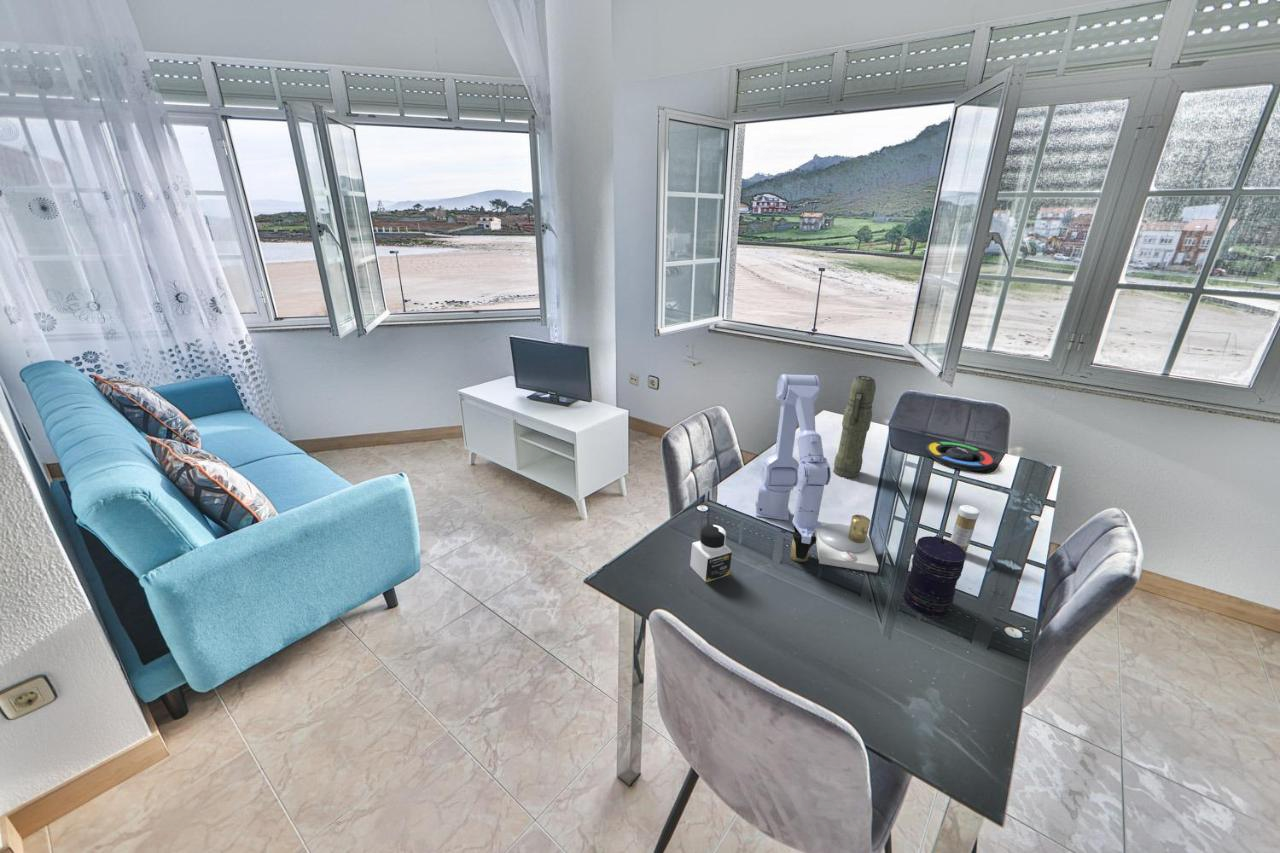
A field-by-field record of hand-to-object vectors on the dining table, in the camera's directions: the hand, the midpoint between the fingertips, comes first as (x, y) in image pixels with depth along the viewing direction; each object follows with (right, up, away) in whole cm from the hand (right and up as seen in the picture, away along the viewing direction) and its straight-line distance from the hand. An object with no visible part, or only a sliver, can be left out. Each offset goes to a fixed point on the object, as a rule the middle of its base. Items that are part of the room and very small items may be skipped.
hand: (799, 552), depth 135 cm
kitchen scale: (+13, 0, +6) cm, 15 cm away
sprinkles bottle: (+44, -2, +6) cm, 45 cm away
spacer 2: (+17, +2, +5) cm, 18 cm away
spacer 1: (0, -1, +1) cm, 1 cm away
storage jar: (+25, -9, -14) cm, 30 cm away
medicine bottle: (-24, -3, -6) cm, 25 cm away
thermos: (+32, +16, +50) cm, 61 cm away
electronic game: (+80, +19, +65) cm, 105 cm away
